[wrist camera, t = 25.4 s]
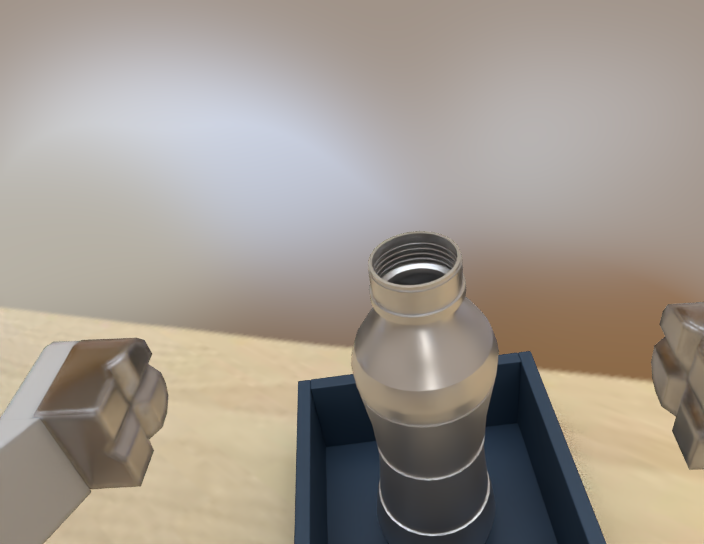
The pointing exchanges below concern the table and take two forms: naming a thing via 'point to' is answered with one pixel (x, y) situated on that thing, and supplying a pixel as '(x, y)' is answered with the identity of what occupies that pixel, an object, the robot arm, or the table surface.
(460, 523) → the metal water bottle
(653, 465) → the table surface
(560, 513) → the tub
